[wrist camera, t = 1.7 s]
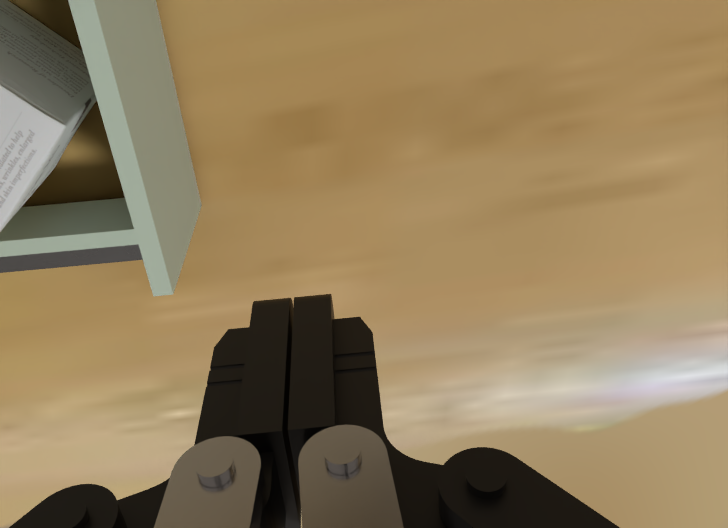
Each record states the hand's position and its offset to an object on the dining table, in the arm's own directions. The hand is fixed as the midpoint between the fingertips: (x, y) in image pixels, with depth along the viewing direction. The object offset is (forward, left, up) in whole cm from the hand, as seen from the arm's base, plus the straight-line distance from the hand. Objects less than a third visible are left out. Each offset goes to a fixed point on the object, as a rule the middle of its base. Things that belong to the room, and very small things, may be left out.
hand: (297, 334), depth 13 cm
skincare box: (0, -13, -21) cm, 25 cm away
